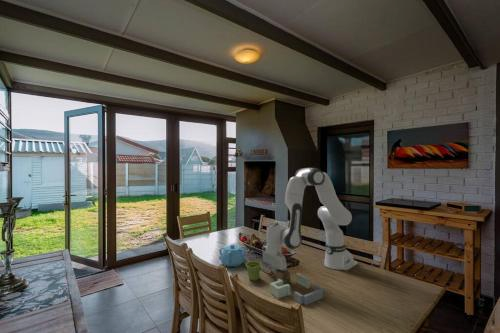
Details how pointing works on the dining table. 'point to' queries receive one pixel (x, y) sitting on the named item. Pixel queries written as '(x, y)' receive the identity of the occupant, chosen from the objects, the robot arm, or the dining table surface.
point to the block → (283, 276)
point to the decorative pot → (232, 255)
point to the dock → (309, 296)
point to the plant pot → (253, 270)
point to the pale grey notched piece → (287, 286)
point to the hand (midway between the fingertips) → (274, 272)
